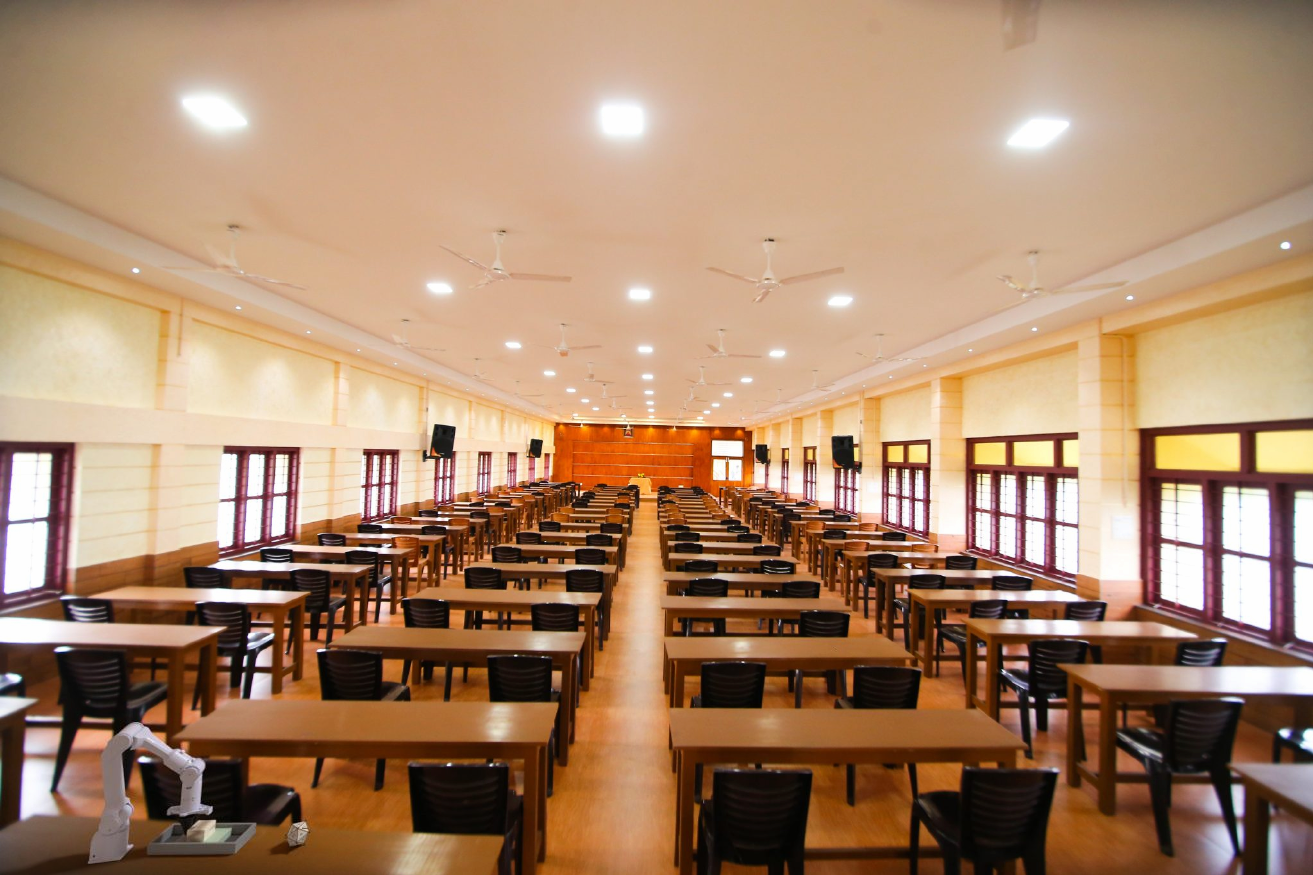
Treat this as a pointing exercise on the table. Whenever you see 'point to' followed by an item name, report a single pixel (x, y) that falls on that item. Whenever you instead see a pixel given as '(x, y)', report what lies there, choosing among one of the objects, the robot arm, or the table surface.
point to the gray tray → (220, 842)
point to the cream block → (201, 830)
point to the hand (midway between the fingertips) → (188, 833)
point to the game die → (297, 833)
